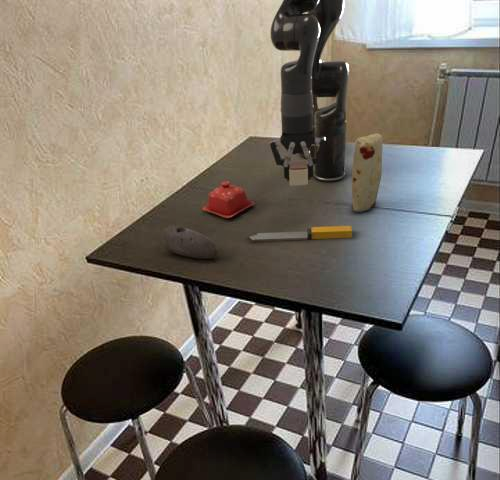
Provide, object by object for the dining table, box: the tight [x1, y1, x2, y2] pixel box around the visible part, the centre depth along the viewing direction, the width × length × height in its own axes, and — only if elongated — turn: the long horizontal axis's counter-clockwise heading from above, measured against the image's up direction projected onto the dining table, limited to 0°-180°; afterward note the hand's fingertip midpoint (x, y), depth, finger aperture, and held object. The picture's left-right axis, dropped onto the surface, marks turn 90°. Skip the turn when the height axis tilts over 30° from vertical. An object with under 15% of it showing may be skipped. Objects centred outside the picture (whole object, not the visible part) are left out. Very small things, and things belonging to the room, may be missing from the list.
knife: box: [249, 225, 353, 243], centre depth 124 cm, size 26×3×2 cm, turn 86°
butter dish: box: [202, 180, 255, 219], centre depth 138 cm, size 12×12×8 cm
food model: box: [351, 133, 383, 212], centre depth 129 cm, size 10×7×20 cm
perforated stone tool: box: [161, 224, 219, 260], centre depth 120 cm, size 15×5×7 cm, turn 60°
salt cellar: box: [289, 159, 309, 187], centre depth 124 cm, size 5×6×4 cm
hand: (298, 178), depth 125 cm, fingers closed on salt cellar, 4 cm apart
